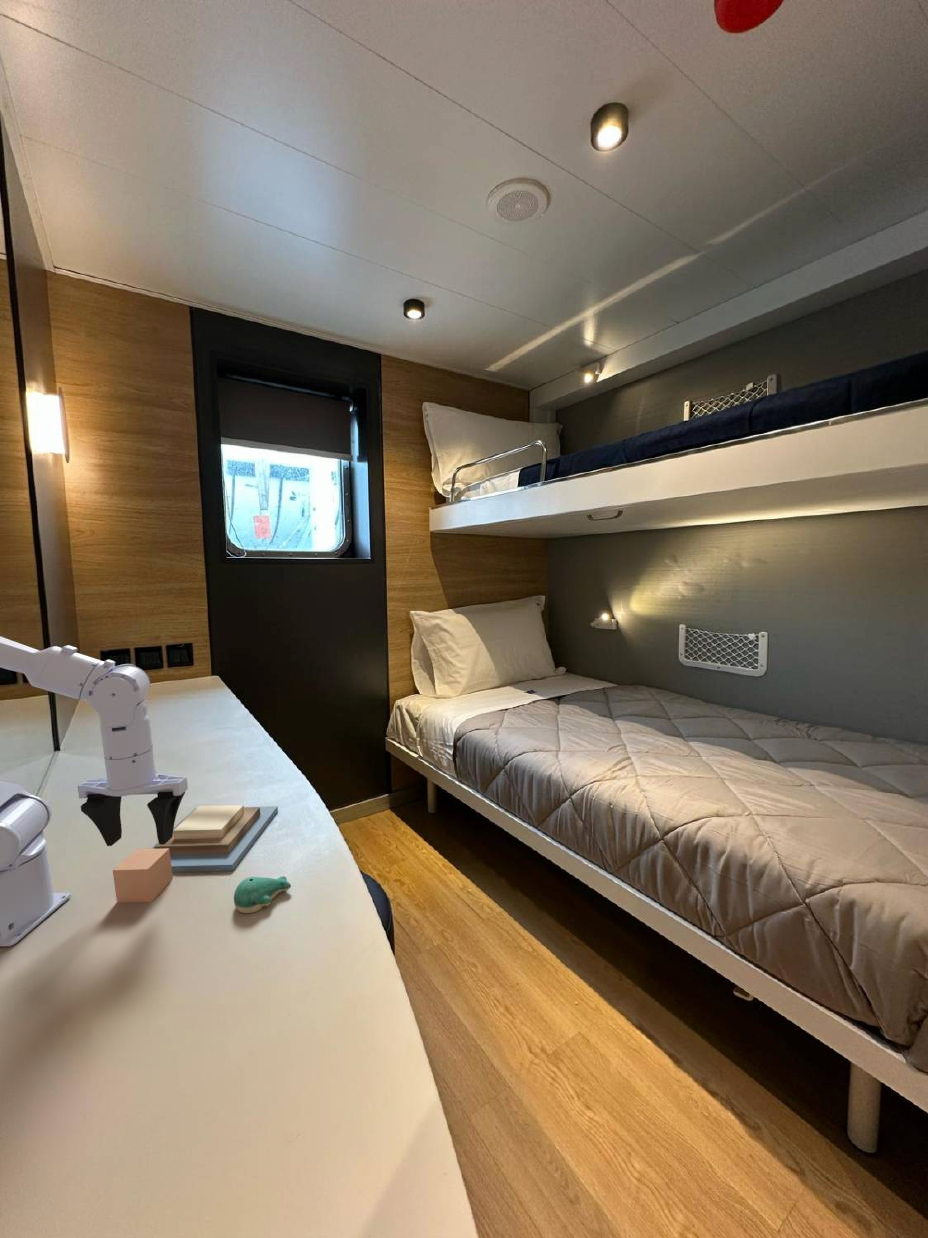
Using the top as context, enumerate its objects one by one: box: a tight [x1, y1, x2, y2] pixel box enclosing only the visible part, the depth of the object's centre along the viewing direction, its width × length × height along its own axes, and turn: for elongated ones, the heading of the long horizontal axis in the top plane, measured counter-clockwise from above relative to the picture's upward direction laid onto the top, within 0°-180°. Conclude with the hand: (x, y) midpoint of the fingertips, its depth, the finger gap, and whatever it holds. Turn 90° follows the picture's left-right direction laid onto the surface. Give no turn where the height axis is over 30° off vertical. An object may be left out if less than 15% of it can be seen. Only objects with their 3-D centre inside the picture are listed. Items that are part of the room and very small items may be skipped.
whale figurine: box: [233, 875, 292, 914], centre depth 69 cm, size 6×7×4 cm
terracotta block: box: [112, 848, 174, 903], centre depth 71 cm, size 5×5×5 cm
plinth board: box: [150, 804, 279, 873], centre depth 84 cm, size 18×16×4 cm
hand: (140, 841), depth 71 cm, fingers open, 7 cm apart
